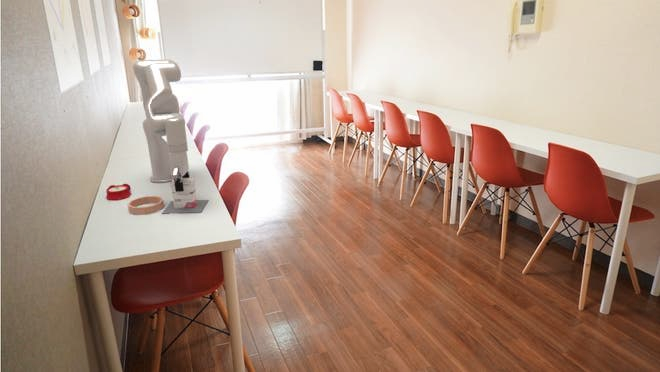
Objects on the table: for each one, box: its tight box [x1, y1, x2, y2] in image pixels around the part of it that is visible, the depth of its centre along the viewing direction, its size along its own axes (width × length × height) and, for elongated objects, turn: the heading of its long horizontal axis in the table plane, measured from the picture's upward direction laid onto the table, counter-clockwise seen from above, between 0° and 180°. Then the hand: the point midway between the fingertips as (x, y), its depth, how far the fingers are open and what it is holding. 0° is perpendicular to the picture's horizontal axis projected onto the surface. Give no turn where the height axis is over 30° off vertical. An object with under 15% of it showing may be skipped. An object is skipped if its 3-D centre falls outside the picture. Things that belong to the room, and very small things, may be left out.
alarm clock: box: [105, 183, 132, 201], centre depth 201 cm, size 10×6×15 cm
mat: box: [161, 199, 209, 215], centre depth 186 cm, size 14×16×1 cm
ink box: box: [170, 177, 198, 208], centre depth 184 cm, size 9×5×12 cm, turn 92°
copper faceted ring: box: [127, 195, 165, 216], centre depth 185 cm, size 14×14×3 cm
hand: (183, 187), depth 183 cm, fingers open, 9 cm apart
